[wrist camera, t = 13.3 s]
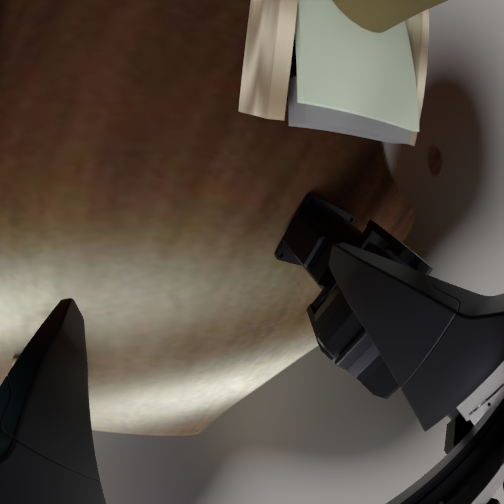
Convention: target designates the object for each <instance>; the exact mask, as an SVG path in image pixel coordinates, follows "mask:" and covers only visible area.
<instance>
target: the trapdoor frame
mask: <svg viewBox="0 0 504 504" xmlns="http://www.w3.org/2000/svg"><path fill="white" fill-rule="evenodd" d="M297 6H298V0H251V4H250V12H249V20H248V28H247V36H246V44H245V53H244V62H243V71H242V81H241V90H240V100H239V112H243V113H247V114H251V115H255V116H259V117H262V118H266V119H275V120H284V116H285V109H286V101H287V93H288V84H289V76H290V68H291V59H292V51H293V42H294V33H295V24H296V15H297ZM429 9H430V8H429ZM429 9H427V10H425V11H423V12H421V13H419V14H417V15H415V16H413V17H411V18H409V19H407V20H405V22H406V27H407V31H408V36H409V41H410V46H411V52H412V58H413V64H414V71H415V79H416V87H417V98H418V111H419V121H420V116H421V110H422V103H423V97H424V90H425V82H426V73H427V63H428V49H429V25H430V16H429V15H430V10H429ZM409 134H410V144H409V145H412V146H415V141H416V136H417V132H413V131H410V130H409Z"/></svg>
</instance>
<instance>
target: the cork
mask: <svg viewBox="0 0 504 504" xmlns="http://www.w3.org/2000/svg"><path fill="white" fill-rule="evenodd" d="M332 1H333V2H334V4H335V5H336V6H337V7H338V9H339V10H340V11H341V12H342V13H344V14H345V15H346V16H347V17H348V18H349V19H350V20H351V21H353V22H354V23H356V24H357V25H359V26H360V27H362V28H364V29H366V30H368V31H371V32H376V33H382V32H384V31H387V30H389V29H390V28H392V27H394V26H396V25H398V24H400V23H401V22H403V21H405V20H407V19H409V18H411V17H413V16H415V15H417V14H419V13H421V12H423V11H425V10H427V9H429V8H432V7H434V6H436V5H438V4H440V3H442V2H445V1H447V0H332Z"/></svg>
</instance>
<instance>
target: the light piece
mask: <svg viewBox="0 0 504 504" xmlns="http://www.w3.org/2000/svg"><path fill="white" fill-rule="evenodd" d="M295 44H296V66H297V75H296V76H294V77H292V78H290V79H289V84H288V101H289V126H295V127H303V128H311V129H318V130H325V131H331V132H337V133H343V134H349V135H354V136H359V137H364V138H369V139H374V140H378V141H383V142H387V143H403V144H410V134H409V130H410V131H413V132H419V111H418V98H417V87H416V79H415V71H414V64H413V58H412V52H411V46H410V41H409V36H408V31H407V27H406V22H405V21H403V22H401V23H400V24H398V25H396V26H394V27H392V28H390V29H389V30H387V31H384V32H382V33H376V32H371V31H368V30H366V29H364V28H362V27H360V26H359V25H357V24H356V23H354V22H353V21H351V20H350V19H349V18H348V17H347V16H346V15H345V14H344V13H342V12H341V11H340V10H339V9H338V7H337V6H336V5H335V4H334V2H333V1H332V0H298V6H297V15H296V24H295Z"/></svg>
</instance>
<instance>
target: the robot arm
mask: <svg viewBox="0 0 504 504" xmlns="http://www.w3.org/2000/svg"><path fill="white" fill-rule="evenodd" d="M310 199H312V201H311V202H309V201H310ZM354 221H355V216H353V215H352V214H350V213H349V212H347V211H345V210H343V209H341V208H339V207H337V206H335V205H333V204H330V203H328V202H326V201H324V200H322V199H320V198H318V197H316V196H314V195H311V194H309V195H307V196H306V197H305V199H304V201H303V202H302V204H301V206H300V208H299V210H298V212H297V213H296V215H295V217H294V219H293V221H292V222H291V224H290V226H289V228H288V230H287V231H286V233H285V235H284V237H283V239H282V240H281V242H280V244H279V246H278V248H277V249H276V251H275V257H276V258H277V259H278V260H281V261H285V262H289V263H293V264H297V265H301V266H303V267H304V268H305V270H306V271H307V272H308V273H309V274H310V276H311V277H312V278H313V279H314V281H315V282H316V283H317V284H318V286H319V287H320V288H321V289H322V291H321V292H320V294H319V295H318V296H317V298H316V299H315V300H314V302H313V303H312V304H310V305H309V306H308V308H307V312H308V315H309V318H310V321H311V324H312V327H313V330H314V333H315V336H316V339H317V342H318V344H319V346H320V348H321V350H322V352H323V353H324V354H326V355H327V357H328V358H330V359H331V360H332V361H333V362H335V364H336V365H338V366H340V367H341V368H343V369H345V370H347V371H348V372H349V373H351V374H352V375H353V376H355V377H356V378H357V379H358V380H359V381H360V382H362V384H363V385H364V386H365V387H366V388H367V389H368V390H369V391H370V392H371V393H372V394H373V395H376V396H379V397H382V398H386V399H388V398H390V397H391V396H392V395H393V394H394V393H395V392H396V391H398V390H399V389H401V390H402V391H403V393H404V395H405V397H406V399H407V400H408V402H409V404H410V406H411V408H412V409H413V411H414V413H415V415H416V417H417V418H418V420H419V422H420V424H421V426H422V428H423V429H424V431H427V430H429V429H430V428H431V427H433V426H434V425H435V424H436V423H438V422H439V421H440V420H442V419H443V418H444V417H446V416H448V417H449V418H450V419H451V421H450V422H449V423H448V424H447V431H446V440H445V448H444V451H445V452H446V454H447V455H446V456H445V457H444V458H443V459H442V460H441V461H440V462H439V463H438V464H437V465H436V466H434V467H433V468H432V469H431V470H430V471H429V472H427V473H426V474H425V475H424V476H423V477H422V478H420V479H419V480H418V481H417V482H415V483H414V484H413V485H411V486H410V487H409V488H408V489H406V490H405V491H403V492H402V493H401V494H399V495H398V496H397V497H395V498H394V499H392V500H391V501H389V502H388V503H386V504H500V503H499V501H498V500H497V499H493V498H491V497H492V496H493V495H494V493H495V492H496V491H497V489H498V488H499V487H500V486H501V484H502V483H503V488H504V294H500V295H496V296H483V295H480V294H477V293H474V292H471V291H469V290H466V289H463V288H460V287H458V286H455V285H452V284H449V283H447V282H444V281H441V280H439V279H437V278H434V277H432V276H431V274H432V273H433V271H434V269H433V268H432V267H430V266H429V265H428V264H427V263H426V262H425V261H424V260H422V259H421V258H420V257H419V256H417V255H416V254H415V253H414V252H413V251H412V250H410V249H409V248H408V247H406V246H405V245H404V244H403V243H401V242H400V241H399V240H398V239H396V238H395V237H394V236H392V235H391V234H390V233H388V232H387V231H386V230H384V229H383V228H382V227H380V226H379V225H378V224H376V223H375V222H373V221H372V220H371V219H370V221H369V222H368V224H367V227H366V229H365V230H364V232H363V233H362V232H361V231H360V230H359V229H357V228H356V227H355V226H354V225H353V223H354ZM280 253H282V254H281V255H279V254H280ZM0 504H106V502H105V498H104V494H103V490H102V486H101V482H100V478H99V473H98V468H97V462H96V457H95V451H94V444H93V438H92V429H91V420H90V408H89V393H88V365H87V353H86V343H85V329H84V319H83V316H82V314H81V313H80V311H79V309H78V307H77V305H76V303H75V301H74V300H73V299H72V298H69V299H63V300H61V301H60V302H59V303H58V305H57V306H56V307H55V308H54V310H53V311H52V312H51V313H50V315H49V316H48V317H47V319H46V320H45V321H44V322H43V324H42V325H41V326H40V328H39V329H38V330H37V332H36V333H35V335H34V336H33V337H32V339H31V340H30V341H29V343H28V344H27V346H26V347H25V349H24V350H23V351H22V353H21V354H20V356H19V357H18V359H17V360H16V362H15V363H14V365H13V366H12V368H11V370H10V371H9V373H8V376H6V377H5V379H4V381H3V382H2V384H1V386H0Z"/></svg>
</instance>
